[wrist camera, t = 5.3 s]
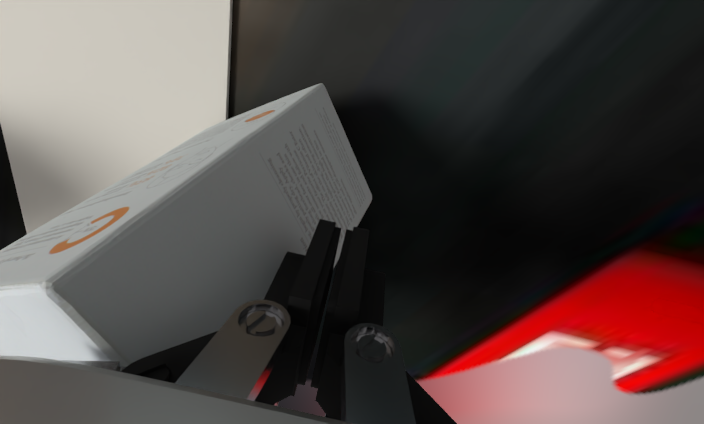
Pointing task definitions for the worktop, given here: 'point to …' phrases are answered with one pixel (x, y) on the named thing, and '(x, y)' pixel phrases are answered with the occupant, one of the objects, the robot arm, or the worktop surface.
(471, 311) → the worktop surface
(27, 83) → the mat
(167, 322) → the small box
